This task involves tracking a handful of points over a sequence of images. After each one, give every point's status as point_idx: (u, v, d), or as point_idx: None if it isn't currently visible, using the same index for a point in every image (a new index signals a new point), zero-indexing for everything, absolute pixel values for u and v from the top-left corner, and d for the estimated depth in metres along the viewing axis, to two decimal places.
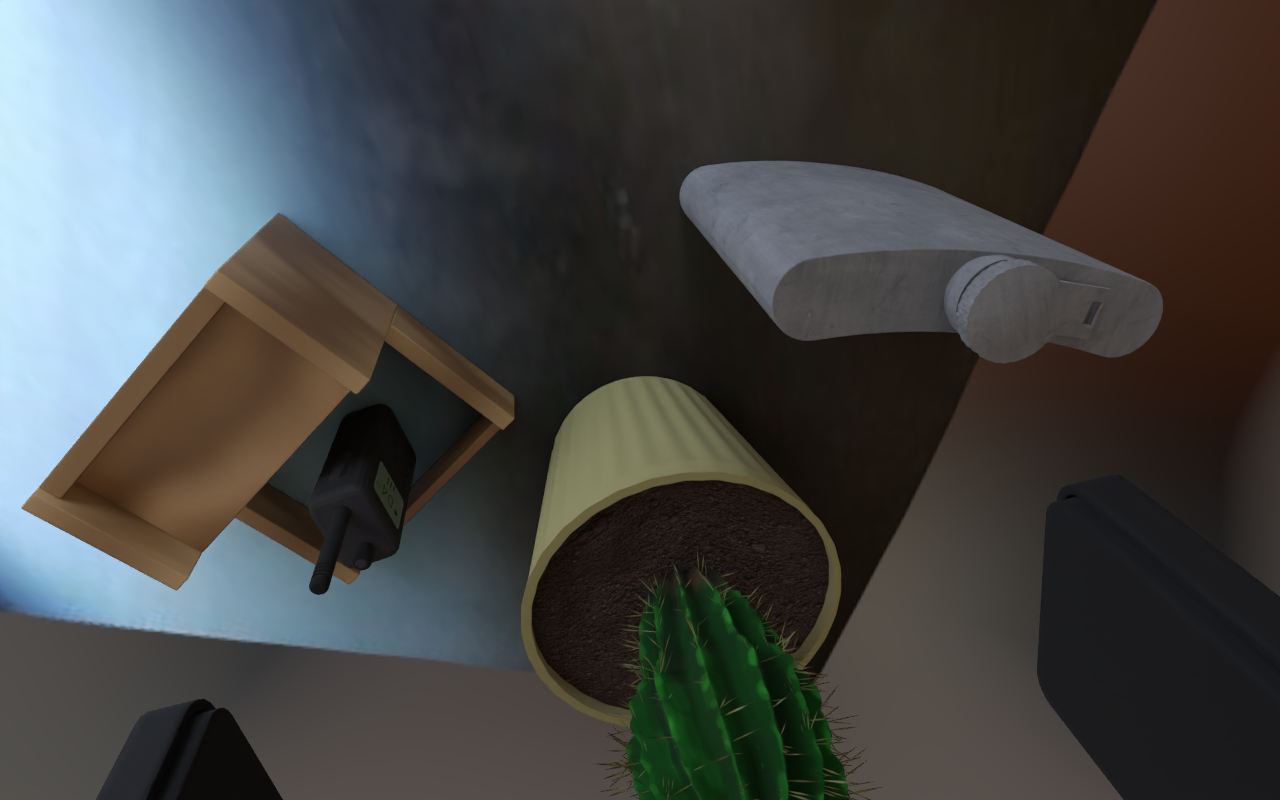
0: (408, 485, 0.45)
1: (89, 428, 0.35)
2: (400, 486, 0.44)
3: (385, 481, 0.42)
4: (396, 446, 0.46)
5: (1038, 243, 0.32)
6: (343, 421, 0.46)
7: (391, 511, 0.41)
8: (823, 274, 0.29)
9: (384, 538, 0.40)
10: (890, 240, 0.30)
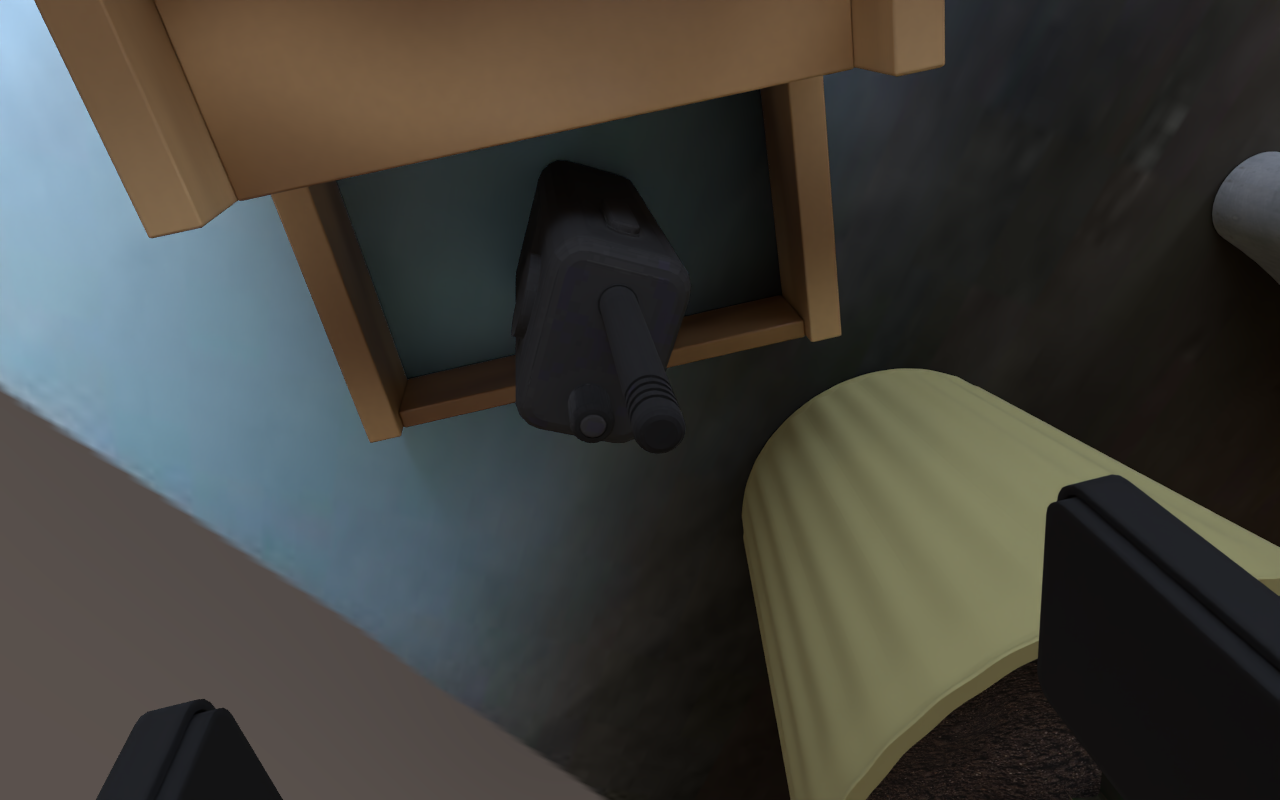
0: None
1: None
2: None
3: None
4: None
5: None
6: (564, 164, 0.24)
7: None
8: None
9: None
10: None
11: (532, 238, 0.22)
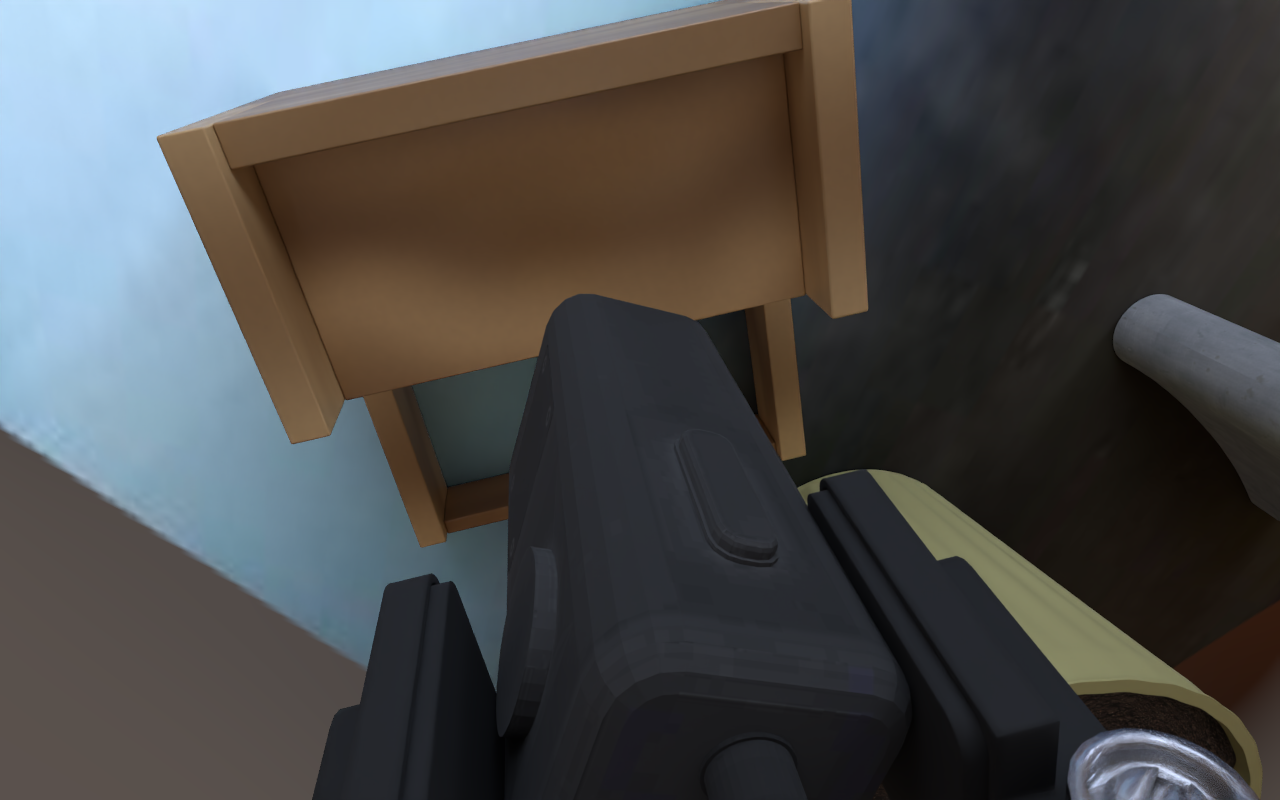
0: None
1: (401, 87, 0.17)
2: None
3: None
4: None
5: None
6: (590, 306, 0.14)
7: None
8: None
9: None
10: None
11: (537, 457, 0.12)
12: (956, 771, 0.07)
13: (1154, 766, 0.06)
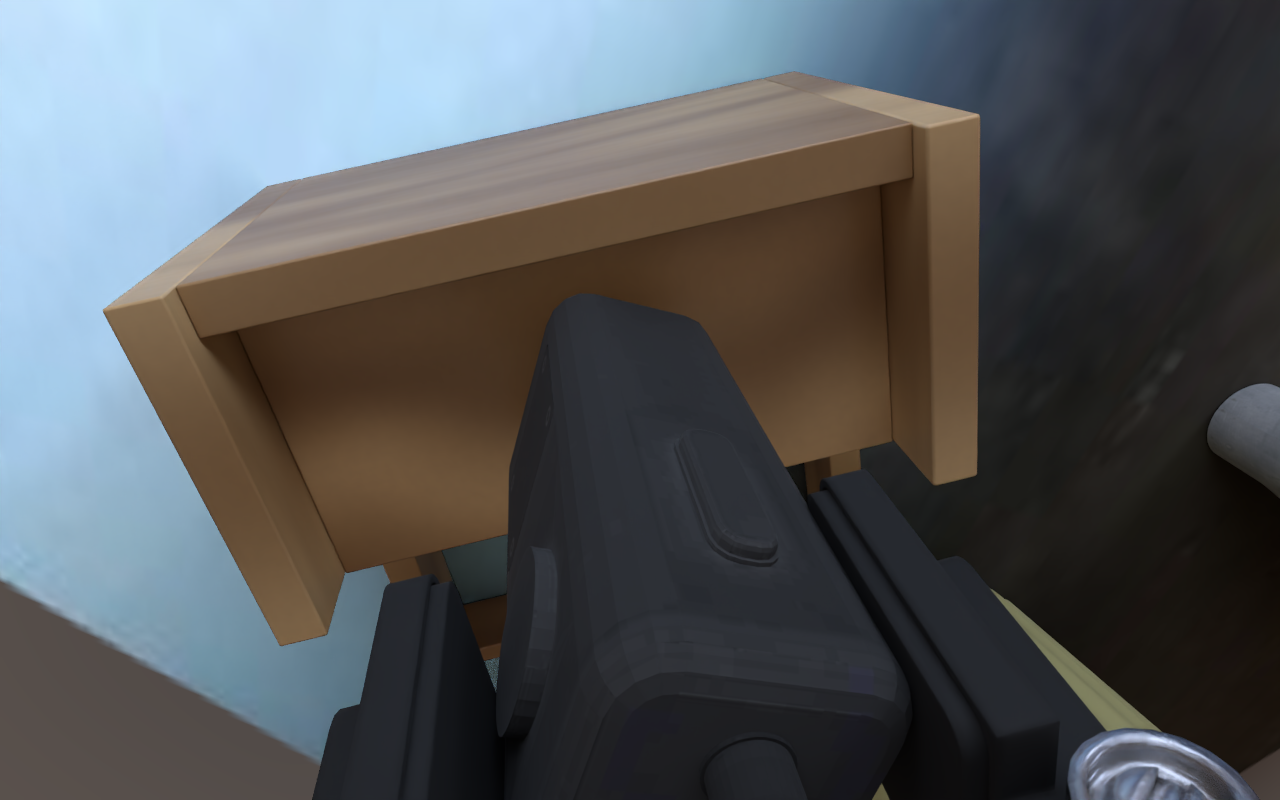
0: None
1: (413, 237, 0.14)
2: None
3: None
4: None
5: None
6: (590, 306, 0.14)
7: None
8: None
9: None
10: None
11: (537, 457, 0.12)
12: (956, 770, 0.07)
13: (1154, 766, 0.06)
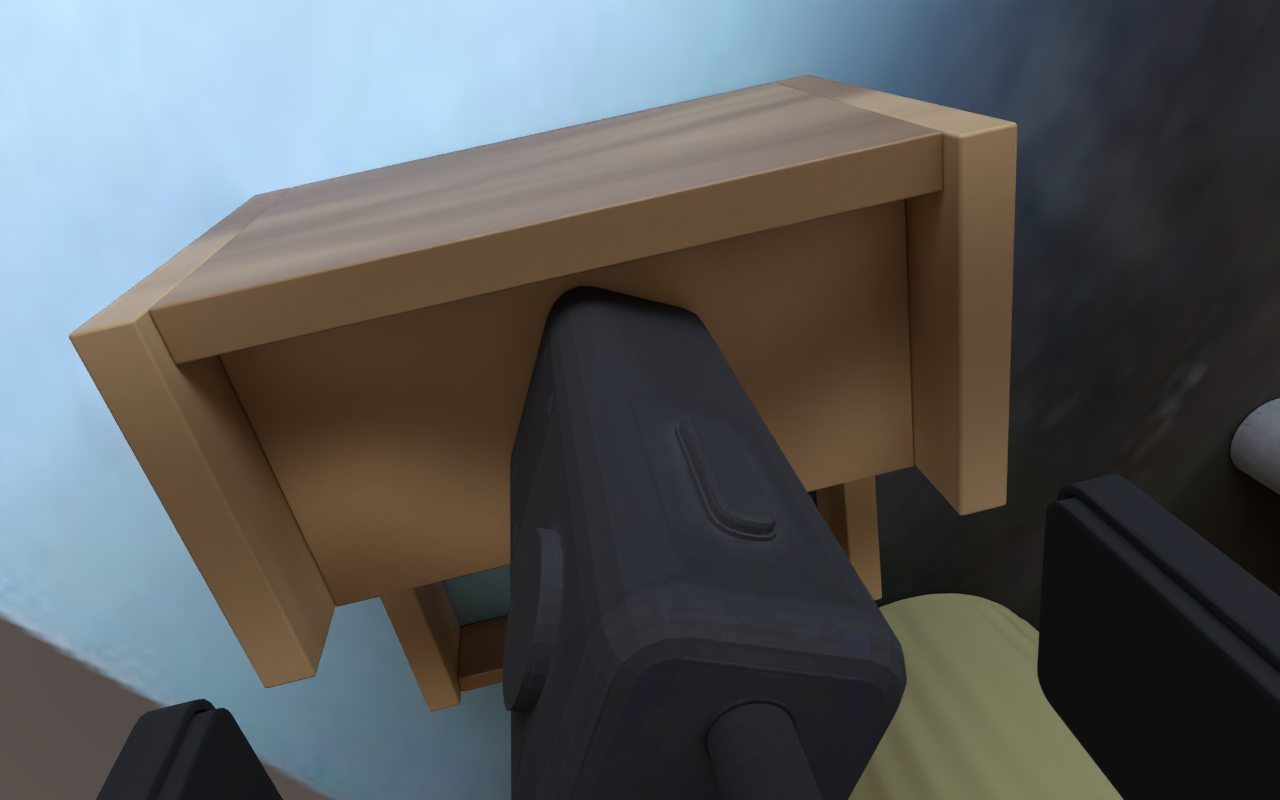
0: None
1: (405, 256, 0.13)
2: None
3: None
4: None
5: None
6: (590, 298, 0.14)
7: None
8: None
9: None
10: None
11: (539, 445, 0.13)
12: None
13: None
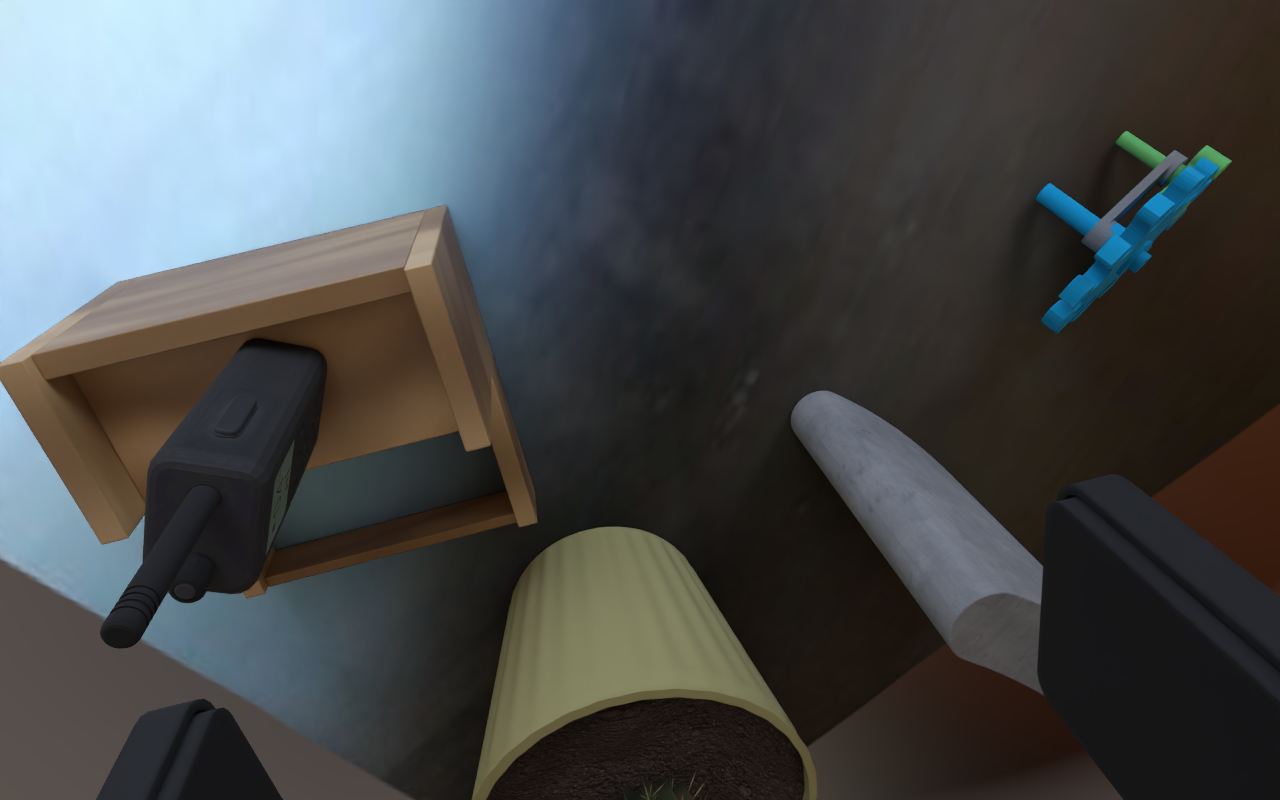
0: (297, 485, 0.29)
1: (150, 328, 0.28)
2: (292, 485, 0.27)
3: (285, 473, 0.25)
4: (311, 422, 0.29)
5: None
6: (251, 344, 0.29)
7: (271, 525, 0.25)
8: (1012, 611, 0.29)
9: (242, 564, 0.23)
10: None
11: None
12: None
13: None
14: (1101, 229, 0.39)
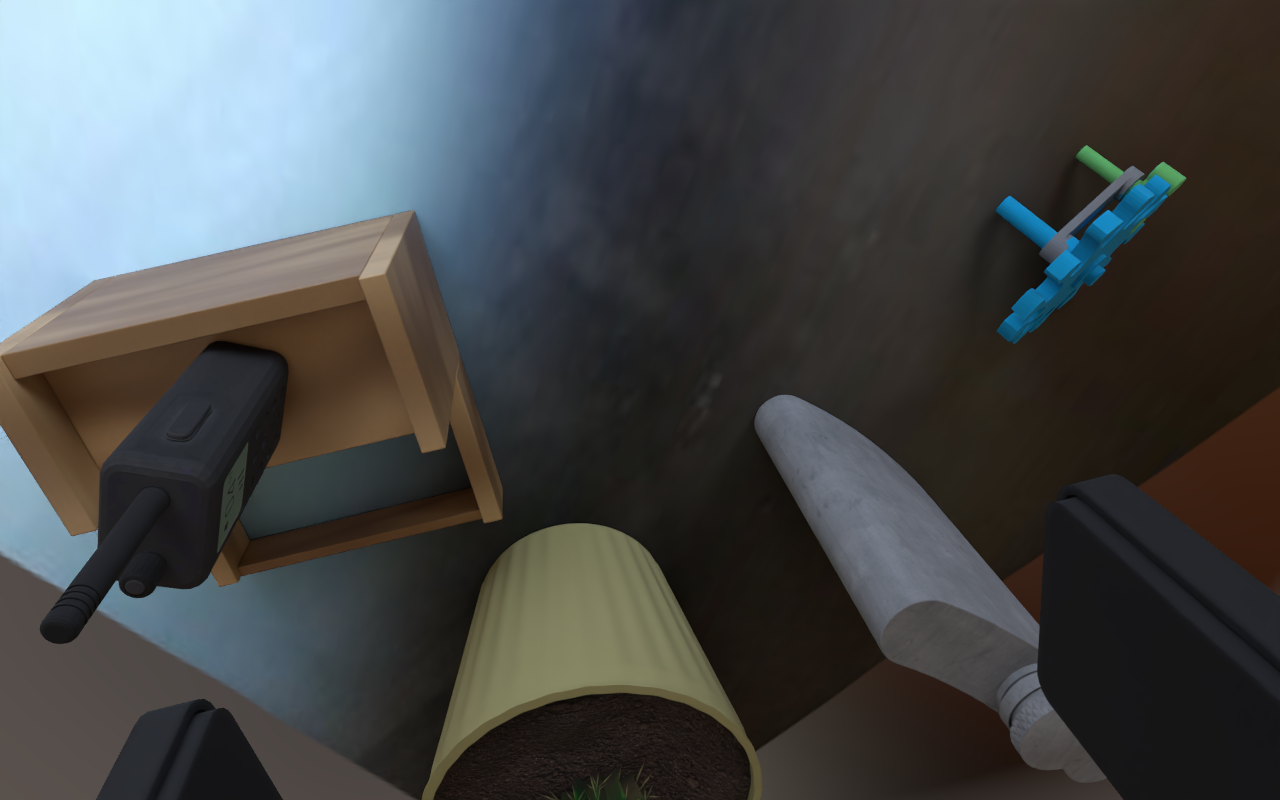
0: (255, 484, 0.30)
1: (114, 331, 0.29)
2: (248, 484, 0.28)
3: (238, 474, 0.27)
4: (270, 423, 0.30)
5: None
6: (214, 347, 0.30)
7: (222, 524, 0.26)
8: (941, 618, 0.30)
9: (191, 562, 0.25)
10: (991, 610, 0.32)
11: None
12: None
13: None
14: (1057, 243, 0.40)
